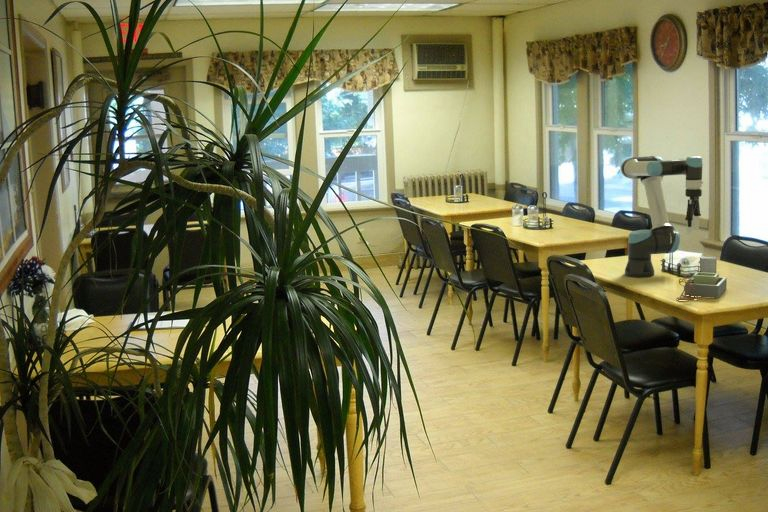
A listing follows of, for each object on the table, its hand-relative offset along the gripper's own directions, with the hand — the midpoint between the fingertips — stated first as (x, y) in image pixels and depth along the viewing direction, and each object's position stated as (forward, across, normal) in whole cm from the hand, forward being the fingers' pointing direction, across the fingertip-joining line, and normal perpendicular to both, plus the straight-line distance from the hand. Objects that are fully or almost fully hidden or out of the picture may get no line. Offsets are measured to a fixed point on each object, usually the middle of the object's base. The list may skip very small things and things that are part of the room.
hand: (692, 231), depth 440 cm
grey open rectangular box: (+27, -17, -10) cm, 33 cm away
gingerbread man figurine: (+27, -34, -5) cm, 44 cm away
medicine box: (+27, +28, -2) cm, 39 cm away
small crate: (+26, -17, -10) cm, 32 cm away
